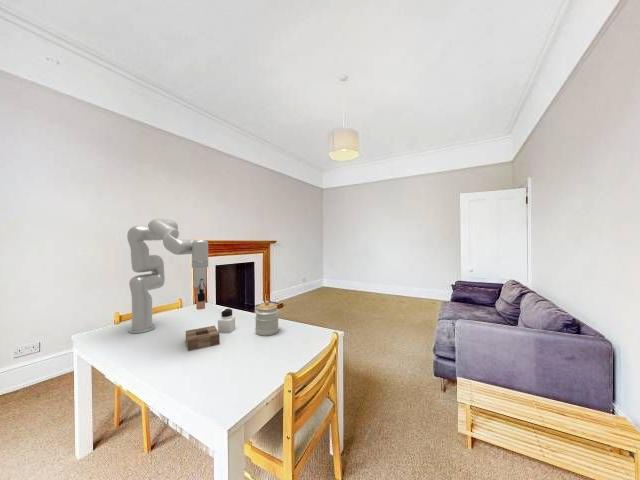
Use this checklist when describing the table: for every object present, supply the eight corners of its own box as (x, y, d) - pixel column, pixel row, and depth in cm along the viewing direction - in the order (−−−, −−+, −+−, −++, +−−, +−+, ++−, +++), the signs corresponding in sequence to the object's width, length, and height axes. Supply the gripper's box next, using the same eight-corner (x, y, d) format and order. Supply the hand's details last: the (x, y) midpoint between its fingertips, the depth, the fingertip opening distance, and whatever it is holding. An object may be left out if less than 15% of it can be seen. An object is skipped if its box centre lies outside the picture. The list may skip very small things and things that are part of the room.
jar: (276, 336, 134) (276, 303, 133) (252, 336, 134) (252, 303, 134) (280, 327, 147) (280, 297, 146) (258, 327, 147) (258, 297, 147)
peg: (196, 308, 126) (195, 284, 126) (204, 306, 128) (204, 283, 128) (196, 310, 123) (196, 286, 123) (205, 308, 125) (205, 285, 125)
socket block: (185, 340, 128) (185, 330, 128) (214, 334, 136) (214, 325, 136) (188, 351, 116) (187, 340, 116) (219, 344, 124) (219, 334, 124)
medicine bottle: (235, 328, 145) (235, 308, 145) (229, 333, 138) (229, 311, 138) (223, 327, 146) (223, 307, 146) (217, 332, 139) (217, 311, 139)
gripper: (190, 263, 130) (190, 297, 131) (193, 266, 116) (194, 305, 116) (206, 262, 134) (206, 296, 135) (210, 265, 120) (211, 303, 120)
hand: (200, 299), depth 126 cm, fingers closed on peg, 4 cm apart
